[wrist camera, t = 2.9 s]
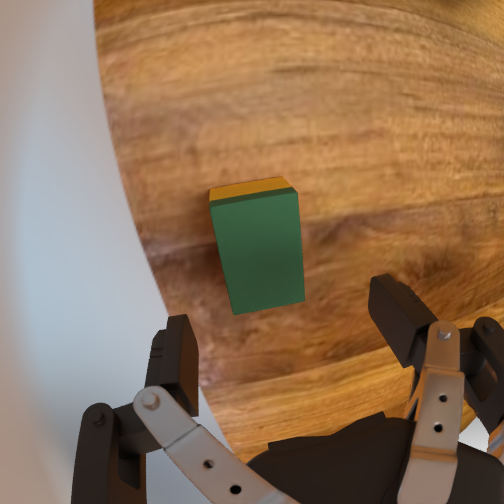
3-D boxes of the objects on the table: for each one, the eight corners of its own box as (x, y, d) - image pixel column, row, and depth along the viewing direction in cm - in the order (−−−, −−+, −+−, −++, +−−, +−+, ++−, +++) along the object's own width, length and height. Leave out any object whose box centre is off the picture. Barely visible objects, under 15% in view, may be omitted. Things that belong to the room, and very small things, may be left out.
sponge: (209, 188, 17) (208, 207, 14) (282, 176, 18) (297, 191, 14) (229, 284, 21) (233, 316, 18) (291, 272, 21) (305, 301, 18)
